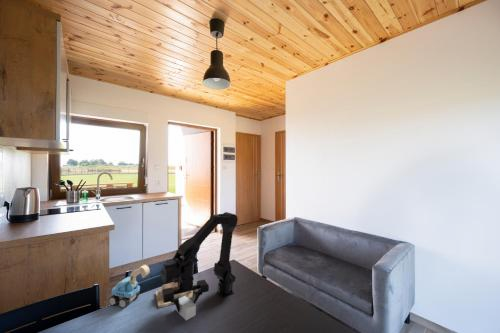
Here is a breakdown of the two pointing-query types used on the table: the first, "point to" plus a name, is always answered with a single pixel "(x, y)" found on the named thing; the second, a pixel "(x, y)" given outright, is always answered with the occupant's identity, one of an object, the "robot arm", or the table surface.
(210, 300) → the table surface
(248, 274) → the table surface
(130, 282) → the toy excavator
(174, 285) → the tan rectangular bar
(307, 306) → the table surface
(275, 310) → the table surface
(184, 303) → the light grey rectangular block
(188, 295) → the jig
